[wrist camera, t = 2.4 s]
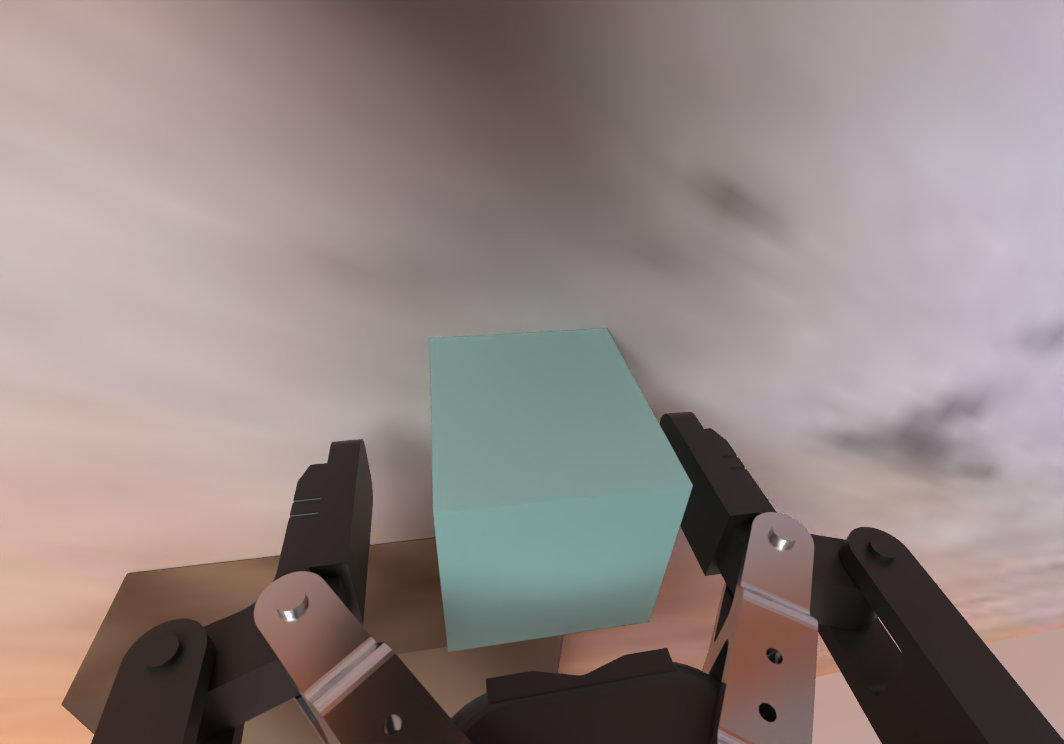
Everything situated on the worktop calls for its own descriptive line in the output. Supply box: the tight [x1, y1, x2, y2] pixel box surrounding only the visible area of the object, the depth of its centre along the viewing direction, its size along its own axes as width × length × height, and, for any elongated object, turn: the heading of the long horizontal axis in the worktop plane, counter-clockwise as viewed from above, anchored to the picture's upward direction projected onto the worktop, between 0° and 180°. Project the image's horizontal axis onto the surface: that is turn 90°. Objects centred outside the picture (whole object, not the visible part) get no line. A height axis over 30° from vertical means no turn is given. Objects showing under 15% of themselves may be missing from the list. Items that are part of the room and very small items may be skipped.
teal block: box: [429, 328, 693, 652], centre depth 14 cm, size 5×5×6 cm
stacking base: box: [61, 538, 563, 744], centre depth 21 cm, size 14×14×4 cm
